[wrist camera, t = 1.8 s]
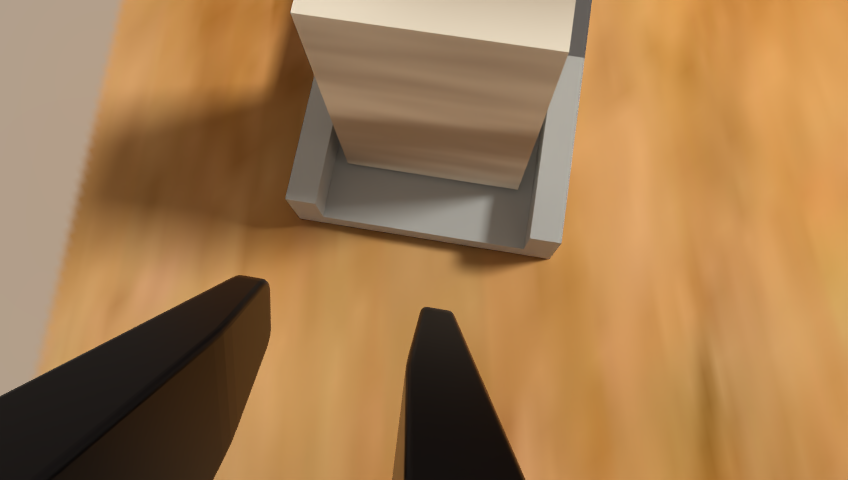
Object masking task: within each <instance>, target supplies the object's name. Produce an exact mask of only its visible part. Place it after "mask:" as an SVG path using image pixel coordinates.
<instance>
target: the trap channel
mask: <svg viewBox="0 0 848 480" xmlns="http://www.w3.org/2000/svg"><path fill="white" fill-rule="evenodd" d="M591 3H592V0H576V3H575V11H574V18H573V26H572V34H571V41H570V49H569V54H568V56H567V59H566V62H565V64H564V67H563V70H562V72H561V75H560V78H559V81H558V83H557V86H556V89H555V91H554V94H553V97H552V99H551V102H550V105H549V107H548V110H547V113H546V115H545V118H544V121H543V124H542V126H541V129H540V132H539V134H538V137H537V140H536V142H535V145H534V148H533V150H532V153H531V156H530V158H529V161H528V164H527V166H526V169H525V172H524V175H523V177H522V180H521V183H520V185H519V188H518V190H516V189H509V188H503V187H497V186H490V185H484V184H477V183H471V182H465V181H458V180H452V179H445V178H439V177H433V176H426V175H420V174H413V173H407V172H401V171H394V170H388V169H381V168H375V167H369V166H362V165H356V164H349V163H348V162H347V160H346V157H345V155H344V152H343V149H342V147H341V144H340V141H339V139H338V136H337V134H336V131H335V128H334V126H333V123H332V121H331V118H330V115H329V113H328V110H327V107H326V105H325V102H324V100H323V97H322V94H321V92H320V89H319V87H318V84H317V81H316V79H315V76H314V79H313V83H312V87H311V91H310V96H309V100H308V104H307V108H306V113H305V117H304V121H303V125H302V130H301V134H300V138H299V142H298V147H297V151H296V155H295V159H294V164H293V168H292V172H291V176H290V181H289V185H288V189H287V193H286V197H285V199H286V201H287V202H288V203H289V205H290V206H291V207H292V209H293V210H294V211H295V213H296V214H297V215H298V217H299V218H300V219H306V220H312V221H319V222H325V223H331V224H337V225H343V226H349V227H355V228H362V229H368V230H374V231H380V232H386V233H392V234H399V235H405V236H411V237H417V238H423V239H429V240H435V241H442V242H448V243H454V244H460V245H466V246H472V247H478V248H485V249H491V250H497V251H503V252H509V253H515V254H522V255H528V256H534V257H540V258H546V259H550V257H551V256H552V255H553V253H554V252H555V251H556V250H557V248H558V247H559V246H560V244H561V242H562V234H563V226H564V218H565V210H566V202H567V194H568V186H569V178H570V170H571V162H572V154H573V146H574V138H575V130H576V123H577V115H578V107H579V99H580V91H581V83H582V75H583V67H584V59H585V51H586V43H587V35H588V27H589V19H590V11H591Z"/></svg>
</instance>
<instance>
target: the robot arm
mask: <svg viewBox="0 0 848 480" xmlns="http://www.w3.org/2000/svg"><path fill="white" fill-rule="evenodd" d="M270 331H271V314H270V287H269V284H268V282H267V281H266V280H264V279H260V278H255V277H249V276H243V275H238V276H235V277H232V278H230V279H228V280H226V281H225V282H223V283H221V284H219V285H217V286H215V287H213V288H211V289H209V290H207V291H205V292H203V293H201V294H199V295H197V296H195V297H193V298H191V299H189V300H187V301H185V302H183V303H182V304H180V305H178V306H176V307H174V308H172V309H170V310H168V311H166V312H164V313H162V314H160V315H158V316H156V317H154V318H152V319H150V320H148V321H146V322H144V323H142V324H140V325H139V326H137V327H135V328H133V329H131V330H129V331H127V332H125V333H123V334H121V335H119V336H117V337H115V338H113V339H111V340H109V341H107V342H105V343H103V344H101V345H99V346H97V347H96V348H94V349H92V350H90V351H88V352H86V353H84V354H82V355H80V356H78V357H76V358H74V359H72V360H70V361H68V362H66V363H64V364H62V365H60V366H58V367H56V368H54V369H53V370H51V371H49V372H47V373H45V374H43V375H41V376H39V377H37V378H35V379H33V380H31V381H29V382H27V383H25V384H23V385H21V386H19V387H17V388H15V389H14V390H11V391H9V392H8V393H6V394H4V395H2V396H0V480H213V479H214V477H215V475H216V473H217V471H218V469H219V467H220V465H221V463H222V461H223V459H224V457H225V455H226V453H227V451H228V449H229V447H230V444H231V442H232V440H233V437H234V435H235V432H236V430H237V427H238V424H239V422H240V419H241V416H242V413H243V411H244V408H245V405H246V403H247V400H248V397H249V395H250V392H251V389H252V386H253V384H254V381H255V378H256V376H257V373H258V370H259V367H260V365H261V362H262V359H263V357H264V354H265V351H266V349H267V346H268V342H269V338H270ZM392 480H525V478H524V475H523V473H522V471H521V468H520V466H519V464H518V462H517V459H516V457H515V455H514V452H513V450H512V448H511V445H510V443H509V441H508V438H507V436H506V434H505V432H504V429H503V427H502V425H501V422H500V420H499V418H498V415H497V413H496V411H495V408H494V406H493V404H492V402H491V399H490V397H489V395H488V392H487V390H486V388H485V385H484V383H483V381H482V378H481V376H480V374H479V371H478V369H477V367H476V365H475V362H474V360H473V358H472V355H471V353H470V351H469V348H468V346H467V344H466V341H465V339H464V337H463V335H462V332H461V330H460V328H459V325H458V323H457V321H456V318H455V316H454V314H453V313H452V312H451V311H448V310H442V309H436V308H430V307H424V308H423V309H422V310H421V312H420V315H419V318H418V322H417V326H416V329H415V333H414V337H413V340H412V344H411V348H410V351H409V355H408V359H407V364H406V371H405V379H404V387H403V395H402V403H401V412H400V420H399V428H398V436H397V444H396V452H395V461H394V469H393V478H392Z"/></svg>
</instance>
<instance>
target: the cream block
mask: <svg viewBox="0 0 848 480" xmlns="http://www.w3.org/2000/svg"><path fill="white" fill-rule="evenodd" d="M575 3H576V0H293V4H292V8H291V12H290V13H291V16H292V18H293V21H294V24H295V26H296V29H297V32H298V34H299V37H300V39H301V42H302V45H303V47H304V50H305V52H306V55H307V58H308V60H309V63H310V66H311V68H312V71H313V73H314V76H315V79H316V81H317V84H318V87H319V89H320V92H321V94H322V97H323V100H324V102H325V105H326V107H327V110H328V113H329V115H330V118H331V121H332V123H333V126H334V128H335V131H336V134H337V136H338V139H339V141H340V144H341V147H342V149H343V152H344V155H345V157H346V160H347V162H348V163H349V164H356V165H362V166H369V167H375V168H381V169H388V170H394V171H401V172H407V173H413V174H420V175H426V176H433V177H439V178H445V179H452V180H458V181H465V182H471V183H477V184H484V185H490V186H497V187H503V188H509V189H516V190H518V188H519V185H520V183H521V180H522V177H523V175H524V172H525V169H526V166H527V164H528V161H529V158H530V156H531V153H532V150H533V148H534V145H535V142H536V140H537V137H538V134H539V132H540V129H541V126H542V124H543V121H544V118H545V115H546V113H547V110H548V107H549V105H550V102H551V99H552V97H553V94H554V91H555V89H556V86H557V83H558V81H559V78H560V75H561V72H562V70H563V67H564V64H565V62H566V59H567V56H568V54H569V49H570V41H571V34H572V26H573V18H574V11H575Z"/></svg>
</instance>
